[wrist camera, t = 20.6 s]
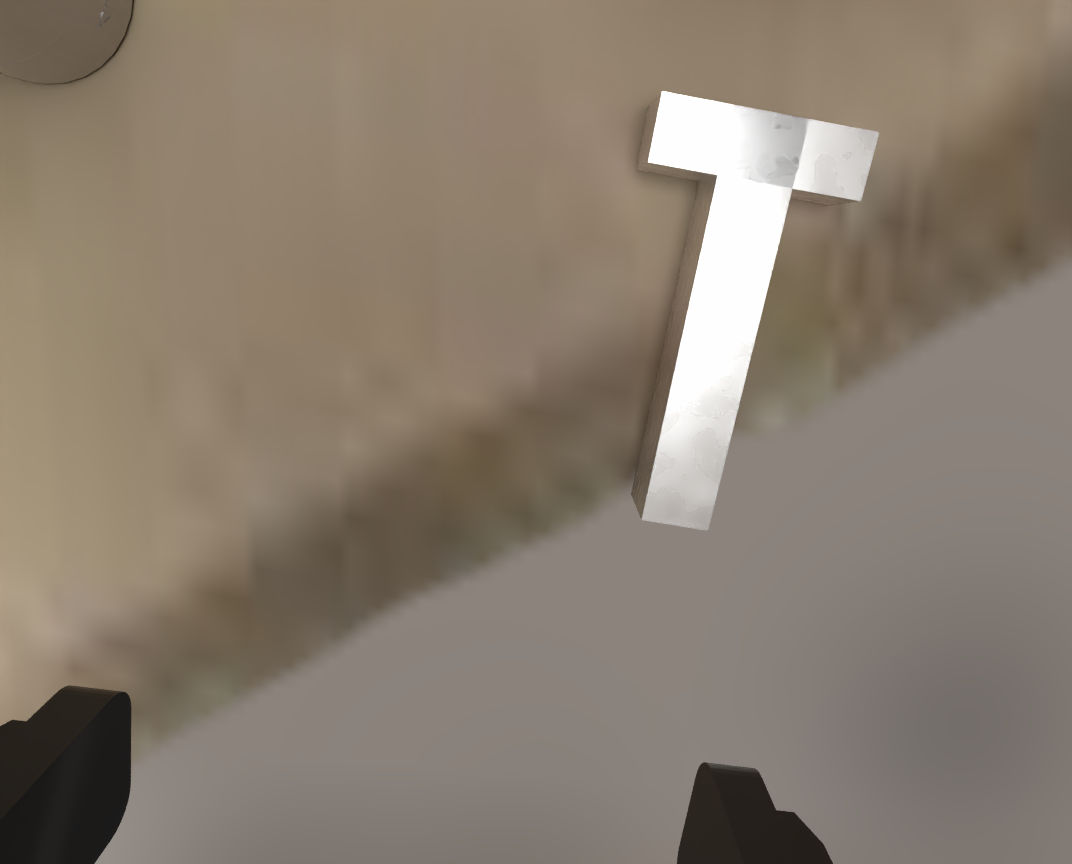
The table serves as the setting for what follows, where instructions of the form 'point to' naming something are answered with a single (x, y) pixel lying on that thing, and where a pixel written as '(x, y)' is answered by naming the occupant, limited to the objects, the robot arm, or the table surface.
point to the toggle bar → (725, 275)
